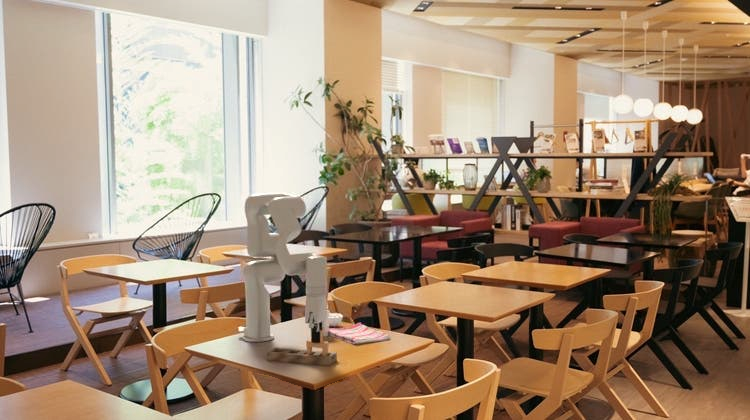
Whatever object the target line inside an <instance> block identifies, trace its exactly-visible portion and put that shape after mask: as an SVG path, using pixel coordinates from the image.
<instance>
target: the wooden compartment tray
mask: <svg viewBox="0 0 750 420" xmlns="http://www.w3.org/2000/svg"><path fill="white" fill-rule="evenodd" d="M266 353H267V361H268V362H276V361H277V362H279V363H290V364H301V365H313V366H314V365H315V366H325V367H330V366H332V365H333V364H334V363H336V362H337V360H338V359H337V358H338V356H337V352H335V351H334V352H333V351H328V356H322V350H320V351H319V350H312V354H310V355H307V349H297V348H296V349H295V348H284V347H283V348H282V347H274V348H273V349H271V350H269V351H267V352H266Z"/></svg>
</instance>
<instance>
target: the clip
mask: <svg viewBox="0 0 750 420" xmlns="http://www.w3.org/2000/svg"><path fill="white" fill-rule="evenodd" d="M319 332H320V343H312V342H311V339H309V338H308V339H307V340H306V342H305V343H306V345H305V346H306V350H307V355H310V354H312V351H313V348H316V349H322V350H321V351H322V356H328V352H329V347H330V346H329V341H325V340H324V337H323V330H319Z"/></svg>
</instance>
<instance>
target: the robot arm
mask: <svg viewBox="0 0 750 420" xmlns="http://www.w3.org/2000/svg"><path fill="white" fill-rule="evenodd" d="M306 211H307V207H306V203H305V201H304V199H302V197H301V196H299V195H295V194H290V193H288V192H287V193H286V192H265V193H264V192H263V193H254V194H253V193H252V194H251V195H249V196H248V197H246V199H245V202H244V213H245V218H246V222H247V223H246V224H247V226H246V227H247V231H246V233H247V235H246V237H247V238H246V239H247V240H246V248H247V249H246V250H247V254H248V256H249V257H250V258H254V259H259V260H252V261H249V262H246V263H245V265H244V266H243V268H242V277H243V278H242V279H243V282H244V290H245V322H246V323H245V325H246V326H245V327H244V326H239V327H238V332H237V333H239V334H242V333H243V335H242V340H243V341H245V342H250V343H258V342H259V343H261V342H262V343H263V342H268V341H271V340H273V339H275V334H274V333H273V332H271V310H270V309H271V308H270V307H271V305H270V304H271V303H270V302H271V300H270V299H271V298H270V292H269V291H268V289H267V288H266V286H265V285H266V284H272V283H273V284H274V283H279V282H282V281H283V280H284V279H285V277H286V275H287V276H299V275H301V276H302V275H305V295H306V298H305V307H304V308H305V310H304V323H305V324H308V328H309V329H310V335H311V339H310V340H311V342H312V343H320V332H319V330H323V329H324V321H325V319H326V318H327V310H328V308H327V307H328V306H327V305H328V303H327V302H328V301H327V295H328V267H327V266H328V263H327V257H326V256H324V255H320V254H319V255H318V254H316V253H314V252H305V253H301V252H300V253H293V254H291V253H290V251H289V249H288V247H287V244H288V243H289V242H291V241H293V240H294V239H296V238H297V237H298V236H300V235H301V232H302V227H301V224H300V222H299V220H298V219H300V218H302V217H304V216H305V215H306ZM267 215H269V216H271V218H272V219H271V220H272V222H273V223H274V225H275V228H276V230H277V232H270V222H269V221H268V219H267V217H266V216H267ZM260 258H261V259H262V258H271V259H262V260H261V259H260ZM314 322H315V323H314Z"/></svg>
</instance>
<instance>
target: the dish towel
mask: <svg viewBox="0 0 750 420" xmlns="http://www.w3.org/2000/svg"><path fill="white" fill-rule="evenodd" d="M328 330H329V331H328V336H331V337H333V338H336V339H338V340H340V341H343V342H345V343H348V344H350V345H355V346H357V345H363V344H371V342H372V343H376V342H384V341H388V340H391V335H390V334H387V333H385V332H384V331H381V330H376V329H373V328H370V327H368V326H367V325H365V324H362V322H357V323H356V324H353V325H350V326H347V327H340V328H336V327H332V328H331V327H329V329H328Z"/></svg>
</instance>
